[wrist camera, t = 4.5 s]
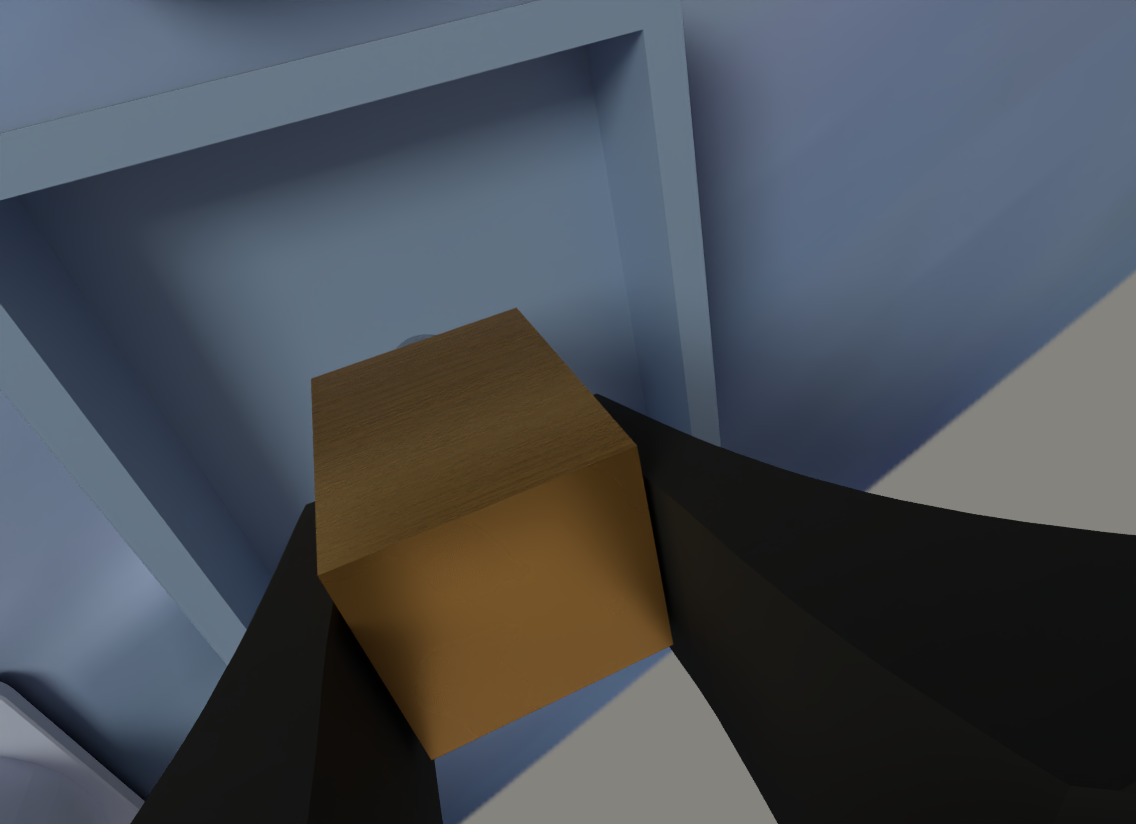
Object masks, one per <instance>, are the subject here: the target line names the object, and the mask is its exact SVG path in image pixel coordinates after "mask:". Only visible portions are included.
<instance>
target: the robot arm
mask: <svg viewBox="0 0 1136 824" xmlns="http://www.w3.org/2000/svg"><path fill="white" fill-rule="evenodd" d="M593 396H594V397H595V398H596V399H597V400H598V401H599V403H600V404H601V405H602V406H603V407H604V408H605V410H606V411H607V412H608V413H609V414H610V415H611V416H612V418H613V419H614V420H615V421H616V422H617V423H618V424H619V426H620V427H621V428H622V429H623V430H624V431H625V432H626V434H627V435H628V436H629V437H630V438H631V439H632V441H633V442H634V443H635V444H636V445H637V448H638V454H639V459H640V465H641V470H642V476H643V481H644V487H645V492H646V498H647V503H648V509H649V514H650V520H651V525H652V531H653V536H654V542H655V547H656V552H657V558H658V563H659V569H660V574H661V580H662V585H663V591H664V596H665V602H666V607H667V613H668V618H669V624H670V629H671V635H672V640H673V645H671V646H669V647H670V648H671V650H672V651H673V652H674V654H675V655H676V657H677V658H678V660H679V661H680V662H681V664H682V665H683V666H684V668H685V669H686V671H687V672H688V674H689V675H690V676H691V678H692V679H693V681H694V682H695V684H696V685H697V686H698V688H699V689H700V691H701V692H702V694H703V695H704V697H705V699H706V700H707V702H708V703H709V705H710V706H711V708H712V710H713V711H714V713H715V714H716V716H717V717H718V719H719V721H720V722H721V724H722V726H723V728H724V729H725V731H726V733H727V734H728V736H729V738H730V740H731V742H732V743H733V745H734V747H735V748H736V750H737V752H738V754H739V756H740V757H741V759H742V761H743V762H744V764H745V766H746V768H747V769H748V771H749V773H750V775H751V777H752V778H753V780H754V782H755V783H756V785H757V787H758V789H759V791H760V792H761V794H762V796H763V798H764V800H765V801H766V803H767V805H768V807H769V808H770V810H771V812H772V814H773V815H774V818H775V819H776V821H777V823H778V824H1136V535H1127V534H1118V533H1108V532H1100V531H1091V530H1084V529H1076V528H1068V527H1060V526H1053V525H1045V524H1037V523H1029V522H1022V521H1015V520H1009V519H1002V518H996V517H989V516H982V515H976V514H971V513H965V512H960V511H955V510H949V509H944V508H939V507H934V506H929V505H924V504H918V503H913V502H908V501H903V500H898V499H894V498H889V497H884V496H880V495H876V494H871V493H867V492H863V491H859V490H855V489H852V488H848V487H844V486H840V485H837V484H833V483H829V482H825V481H822V480H818V479H814V478H810V477H807V476H803V475H800V474H797V473H794V472H790V471H787V470H784V469H781V468H778V467H775V466H772V465H769V464H766V463H763V462H760V461H757V460H755V459H752V458H749V457H746V456H743V455H740V454H737V453H734V452H732V451H729V450H727V449H724V448H721V447H719V446H716V445H713V444H711V443H708V442H706V441H703V440H701V439H698V438H696V437H694V436H691V435H689V434H686V433H684V432H682V431H679V430H677V429H675V428H672V427H670V426H668V425H666V424H663V423H661V422H659V421H657V420H654V419H652V418H650V417H648V416H646V415H643V414H641V413H639V412H637V411H635V410H632V409H630V408H628V407H626V406H624V405H622V404H619V403H617V402H615V401H613V400H611V399H609V398H606V397H604V396H602V395H599V394H597V393H596V394H594V395H593ZM0 824H443V821H442V815H441V808H440V800H439V793H438V785H437V777H436V770H435V762H434V760H431V759H430V757H429V755H428V754H427V752H426V751H425V749H424V747H423V746H422V744H421V742H420V741H419V739H418V738H417V736H416V734H415V733H414V731H413V729H412V728H411V726H410V725H409V723H408V721H407V720H406V718H405V717H404V715H403V713H402V712H401V710H400V708H399V707H398V705H397V704H396V702H395V700H394V699H393V697H392V695H391V694H390V692H389V691H388V689H387V687H386V686H385V684H384V682H383V681H382V679H381V678H380V676H379V674H378V673H377V671H376V670H375V668H374V666H373V665H372V663H371V661H370V660H369V658H368V657H367V655H366V653H365V652H364V650H363V648H362V647H361V645H360V644H359V642H358V640H357V639H356V637H355V635H354V634H353V632H352V631H351V629H350V627H349V626H348V624H347V623H346V621H345V619H344V618H343V616H342V614H341V613H340V611H339V610H338V608H337V606H336V605H335V603H334V601H333V600H332V598H331V597H330V595H329V593H328V592H327V590H326V588H325V587H324V585H323V584H322V582H321V580H320V579H319V577H318V574H317V544H316V515H315V501H314V502H312V503H309V504H306V505H305V507H304V509H303V511H302V513H301V515H300V517H299V519H298V521H297V523H296V526H295V528H294V530H293V532H292V534H291V537H290V539H289V541H288V543H287V545H286V548H285V550H284V552H283V554H282V556H281V559H280V561H279V563H278V565H277V567H276V570H275V572H274V574H273V576H272V578H271V580H270V583H269V585H268V587H267V589H266V591H265V593H264V595H263V597H262V599H261V601H260V603H259V605H258V607H257V609H256V611H255V613H254V616H253V618H252V620H251V622H250V624H249V626H248V628H247V630H246V632H245V634H244V636H243V638H242V640H241V642H240V644H239V646H238V647H237V649H236V651H235V653H234V655H233V657H232V659H231V660H230V662H229V664H228V666H227V668H226V669H225V671H224V673H223V675H222V677H221V678H220V680H219V682H218V684H217V686H216V688H215V689H214V691H213V693H212V695H211V697H210V698H209V700H208V702H207V704H206V706H205V708H204V709H203V711H202V713H201V714H200V716H199V718H198V719H197V721H196V723H195V724H194V726H193V728H192V729H191V731H190V733H189V734H188V736H187V737H186V739H185V741H184V742H183V744H182V745H181V747H180V749H179V750H178V752H177V754H176V755H175V757H174V758H173V760H172V761H171V763H170V764H169V766H168V767H167V769H166V770H165V772H164V773H163V775H162V776H161V778H160V780H159V781H158V783H157V784H156V786H155V787H154V789H153V790H152V792H151V793H150V795H149V796H148V798H147V799H146V801H144V800H142V799H141V798H140V797H139V796H138V795H137V794H135V793H134V792H133V791H132V790H131V789H130V788H128V787H127V786H126V785H125V784H124V783H123V782H121V781H120V780H119V779H118V778H117V777H116V776H114V775H113V774H112V773H111V772H110V771H109V770H107V769H106V768H105V767H104V766H103V765H102V764H100V763H99V762H98V761H97V760H96V759H95V758H93V757H92V756H91V755H90V754H89V753H88V752H86V751H85V750H84V749H83V748H82V747H81V746H79V745H78V744H77V743H76V742H75V741H74V740H72V739H71V738H70V737H69V736H68V735H67V734H65V733H64V732H63V731H62V730H61V729H60V728H58V727H57V726H56V725H55V724H54V723H53V722H51V721H50V720H49V719H48V718H47V717H46V716H44V715H43V714H42V713H41V712H40V711H39V710H37V709H36V708H35V707H34V706H33V705H32V704H30V703H29V702H28V701H27V700H26V699H25V698H23V697H22V696H21V695H20V694H19V693H18V692H16V691H15V690H14V689H13V688H12V687H10V686H9V685H7V684H5V683H3V682H0Z"/></svg>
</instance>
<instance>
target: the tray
mask: <svg viewBox="0 0 1136 824" xmlns="http://www.w3.org/2000/svg"><path fill="white" fill-rule="evenodd" d="M516 307H517V309H518V310H519V311H520V312H521V313H522V314H523V315H524V317H525V318H526V319H527V320H528V321H529V322H530V323H531V325H532V326H533V327H534V328H535V329H536V330H537V331H538V333H539V334H540V335H541V336H542V337H543V338H544V340H545V341H546V342H547V343H548V344H549V345H550V346H551V348H552V349H553V350H554V351H555V352H556V353H557V354H558V356H559V357H560V358H561V359H562V360H563V361H564V362H565V364H566V365H567V366H568V367H569V368H570V369H571V370H572V372H573V373H574V374H575V375H576V376H577V377H578V379H579V380H580V381H581V382H582V383H583V384H584V385H585V387H586V388H587V389H588V390H589V391H590V392H591V393H592V395H594V394H596V393H597V394H599V395H602V396H604V397H606V398H609V399H611V400H613V401H615V402H617V403H619V404H622V405H624V406H626V407H628V408H630V409H632V410H635V411H637V412H639V413H641V414H643V415H646V416H648V417H650V418H652V419H654V420H657V421H659V422H661V423H663V424H666V425H668V426H670V427H672V428H675V429H677V430H679V431H682V432H684V433H686V434H689V435H691V436H694V437H696V438H698V439H701V440H703V441H706V442H708V443H711V444H713V445H716V446H719V447H721V440H720V429H719V418H718V407H717V396H716V385H715V374H714V363H713V351H712V340H711V329H710V318H709V307H708V296H707V285H706V274H705V262H704V251H703V240H702V229H701V218H700V207H699V196H698V185H697V173H696V162H695V151H694V140H693V129H692V118H691V107H690V96H689V84H688V73H687V62H686V51H685V40H684V29H683V18H682V7H681V0H538V1H534V2H530V3H526V4H522V5H518V6H514V7H510V8H506V9H502V10H498V11H494V12H490V13H485V14H481V15H477V16H473V17H469V18H465V19H461V20H457V21H453V22H449V23H445V24H441V25H437V26H433V27H429V28H425V29H421V30H417V31H413V32H409V33H405V34H400V35H396V36H392V37H388V38H384V39H380V40H376V41H372V42H368V43H364V44H360V45H356V46H352V47H348V48H344V49H340V50H336V51H332V52H328V53H324V54H320V55H315V56H311V57H307V58H303V59H299V60H295V61H291V62H287V63H283V64H279V65H275V66H271V67H267V68H263V69H259V70H255V71H251V72H247V73H243V74H239V75H235V76H231V77H226V78H222V79H218V80H214V81H210V82H206V83H202V84H198V85H194V86H190V87H186V88H182V89H178V90H174V91H170V92H166V93H162V94H158V95H154V96H150V97H146V98H141V99H137V100H133V101H129V102H125V103H121V104H117V105H113V106H109V107H105V108H101V109H97V110H93V111H89V112H85V113H81V114H77V115H73V116H69V117H65V118H61V119H57V120H52V121H48V122H44V123H40V124H36V125H32V126H28V127H24V128H20V129H16V130H12V131H8V132H4V133H0V390H1V391H2V392H3V394H4V395H5V396H6V397H7V398H8V400H9V401H10V402H11V403H12V405H13V406H14V407H15V408H16V409H17V411H18V412H19V413H20V414H21V415H22V417H23V418H24V419H25V420H26V422H27V423H28V424H29V425H30V426H31V428H32V429H33V430H34V431H35V432H36V434H37V435H38V436H39V437H40V439H41V440H42V441H43V442H44V443H45V445H46V446H47V447H48V448H49V449H50V451H51V452H52V453H53V454H54V456H55V457H56V458H57V459H58V460H59V462H60V463H61V464H62V465H63V467H64V468H65V469H66V470H67V471H68V473H69V474H70V475H71V476H72V477H73V479H74V480H75V481H76V482H77V484H78V485H79V486H80V487H81V488H82V490H83V491H84V492H85V493H86V494H87V496H88V497H89V498H90V499H91V501H92V502H93V503H94V504H95V505H96V507H97V508H98V509H99V510H100V511H101V513H102V514H103V515H104V516H105V518H106V519H107V520H108V521H109V522H110V524H111V525H112V526H113V527H114V529H115V530H116V531H117V532H118V533H119V535H120V536H121V537H122V538H123V539H124V541H125V542H126V543H127V544H128V546H129V547H130V548H131V549H132V550H133V552H134V553H135V554H136V555H137V556H138V558H139V559H140V560H141V561H142V563H143V564H144V565H145V566H146V567H147V569H148V570H149V571H150V572H151V574H152V575H153V576H154V577H155V578H156V580H157V581H158V582H159V583H160V584H161V586H162V587H163V588H164V589H165V591H166V592H167V593H168V594H169V595H170V597H171V598H172V599H173V600H174V601H175V603H176V604H177V605H178V606H179V608H180V609H181V610H182V611H183V612H184V614H185V615H186V616H187V617H188V618H189V620H190V621H191V622H192V623H193V625H194V626H195V627H196V628H197V629H198V631H199V632H200V633H201V634H202V636H203V637H204V638H205V639H206V640H207V642H208V643H209V644H210V645H211V646H212V648H213V649H214V650H215V651H216V653H217V654H218V655H219V656H220V657H221V659H222V660H223V661H224V662H225V663H226V665H227V666H228V664H229V662H230V660H231V659H232V657H233V655H234V653H235V651H236V649H237V647H238V646H239V644H240V642H241V640H242V638H243V636H244V634H245V632H246V630H247V628H248V626H249V624H250V622H251V620H252V618H253V616H254V613H255V611H256V609H257V607H258V605H259V603H260V601H261V599H262V597H263V595H264V593H265V591H266V589H267V587H268V585H269V583H270V580H271V578H272V576H273V574H274V572H275V570H276V567H277V565H278V563H279V561H280V559H281V556H282V554H283V552H284V550H285V548H286V545H287V543H288V541H289V539H290V537H291V534H292V532H293V530H294V528H295V526H296V523H297V521H298V519H299V517H300V515H301V513H302V511H303V509H304V507H305V505H306V504H309V503H312V502H314V501H315V486H314V456H313V427H312V398H311V378H314V377H317V376H320V375H323V374H326V373H328V372H331V371H334V370H337V369H340V368H343V367H346V366H349V365H352V364H354V363H357V362H360V361H363V360H366V359H369V358H372V357H375V356H378V355H380V354H383V353H386V352H389V351H392V350H395V349H396V348H397V346H399V345H400V344H401V343H402V342H403V341H405V340H406V339H408V338H410V337H413V336H416V335H421V334H431V335H438V334H441V333H444V332H447V331H450V330H453V329H456V328H458V327H461V326H464V325H467V324H470V323H473V322H476V321H479V320H482V319H484V318H487V317H490V316H493V315H496V314H499V313H502V312H505V311H508V310H510V309H513V308H516Z"/></svg>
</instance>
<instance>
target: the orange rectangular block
mask: <svg viewBox="0 0 1136 824" xmlns="http://www.w3.org/2000/svg"><path fill="white" fill-rule="evenodd" d="M311 398H312V427H313V456H314V486H315V515H316V544H317V574H318V577H319V579H320V580H321V582H322V584H323V585H324V587H325V588H326V590H327V592H328V593H329V595H330V597H331V598H332V600H333V601H334V603H335V605H336V606H337V608H338V610H339V611H340V613H341V614H342V616H343V618H344V619H345V621H346V623H347V624H348V626H349V627H350V629H351V631H352V632H353V634H354V635H355V637H356V639H357V640H358V642H359V644H360V645H361V647H362V648H363V650H364V652H365V653H366V655H367V657H368V658H369V660H370V661H371V663H372V665H373V666H374V668H375V670H376V671H377V673H378V674H379V676H380V678H381V679H382V681H383V682H384V684H385V686H386V687H387V689H388V691H389V692H390V694H391V695H392V697H393V699H394V700H395V702H396V704H397V705H398V707H399V708H400V710H401V712H402V713H403V715H404V717H405V718H406V720H407V721H408V723H409V725H410V726H411V728H412V729H413V731H414V733H415V734H416V736H417V738H418V739H419V741H420V742H421V744H422V746H423V747H424V749H425V751H426V752H427V754H428V755H429V757H430V759H431V760H434V759H436V758H438V757H440V756H442V755H444V754H446V753H448V752H450V751H452V750H454V749H456V748H459V747H461V746H463V745H465V744H467V743H469V742H471V741H473V740H475V739H477V738H479V737H481V736H484V735H486V734H488V733H490V732H492V731H494V730H496V729H498V728H500V727H502V726H504V725H507V724H509V723H511V722H513V721H515V720H517V719H519V718H521V717H523V716H525V715H527V714H529V713H532V712H534V711H536V710H538V709H540V708H542V707H544V706H546V705H548V704H550V703H552V702H554V701H557V700H559V699H561V698H563V697H565V696H567V695H569V694H571V693H573V692H575V691H577V690H580V689H582V688H584V687H586V686H588V685H590V684H592V683H594V682H596V681H598V680H600V679H602V678H605V677H607V676H609V675H611V674H613V673H615V672H617V671H619V670H621V669H623V668H625V667H627V666H630V665H632V664H634V663H636V662H638V661H640V660H642V659H644V658H646V657H648V656H650V655H653V654H655V653H657V652H659V651H661V650H663V649H665V648H667V647H669V646H671V645H673V640H672V635H671V629H670V624H669V618H668V613H667V607H666V602H665V596H664V591H663V585H662V580H661V574H660V569H659V563H658V558H657V552H656V547H655V542H654V536H653V531H652V525H651V520H650V514H649V509H648V503H647V498H646V492H645V487H644V481H643V476H642V470H641V465H640V459H639V454H638V448H637V445H636V444H635V443H634V442H633V441H632V439H631V438H630V437H629V436H628V435H627V434H626V432H625V431H624V430H623V429H622V428H621V427H620V426H619V424H618V423H617V422H616V421H615V420H614V419H613V418H612V416H611V415H610V414H609V413H608V412H607V411H606V410H605V408H604V407H603V406H602V405H601V404H600V403H599V401H598V400H597V399H596V398H595V397H594V396H593V395H592V393H591V392H590V391H589V390H588V389H587V388H586V387H585V385H584V384H583V383H582V382H581V381H580V380H579V379H578V377H577V376H576V375H575V374H574V373H573V372H572V370H571V369H570V368H569V367H568V366H567V365H566V364H565V362H564V361H563V360H562V359H561V358H560V357H559V356H558V354H557V353H556V352H555V351H554V350H553V349H552V348H551V346H550V345H549V344H548V343H547V342H546V341H545V340H544V338H543V337H542V336H541V335H540V334H539V333H538V331H537V330H536V329H535V328H534V327H533V326H532V325H531V323H530V322H529V321H528V320H527V319H526V318H525V317H524V315H523V314H522V313H521V312H520V311H519V310H518V309H517V307H516V308H513V309H510V310H508V311H505V312H502V313H499V314H496V315H493V316H490V317H487V318H484V319H482V320H479V321H476V322H473V323H470V324H467V325H464V326H461V327H458V328H456V329H453V330H450V331H447V332H444V333H441V334H438V335H431V334H421V335H416V336H413V337H410V338H408V339H406V340H405V341H403V342H402V343H401V344H400V345H399V346H397V348H396V349H395V350H392V351H389V352H386V353H383V354H380V355H378V356H375V357H372V358H369V359H366V360H363V361H360V362H357V363H354V364H352V365H349V366H346V367H343V368H340V369H337V370H334V371H331V372H328V373H326V374H323V375H320V376H317V377H314V378H311Z"/></svg>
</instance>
